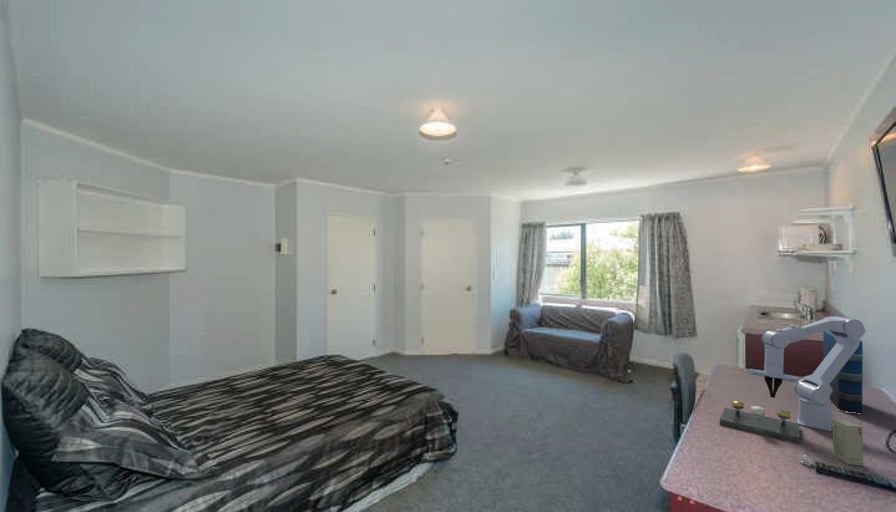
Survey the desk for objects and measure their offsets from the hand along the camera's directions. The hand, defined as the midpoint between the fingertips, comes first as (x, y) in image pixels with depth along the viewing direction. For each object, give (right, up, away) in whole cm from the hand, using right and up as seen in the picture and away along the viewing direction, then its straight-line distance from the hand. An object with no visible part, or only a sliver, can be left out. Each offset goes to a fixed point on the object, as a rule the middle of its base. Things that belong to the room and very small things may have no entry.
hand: (772, 396), depth 153 cm
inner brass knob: (0, -8, -5) cm, 9 cm away
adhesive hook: (-14, -11, -31) cm, 36 cm away
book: (+46, -10, +18) cm, 51 cm away
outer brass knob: (-11, -8, +4) cm, 14 cm away
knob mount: (-8, -10, -3) cm, 14 cm away
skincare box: (+1, -11, -28) cm, 30 cm away
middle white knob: (-11, -6, -7) cm, 15 cm away
